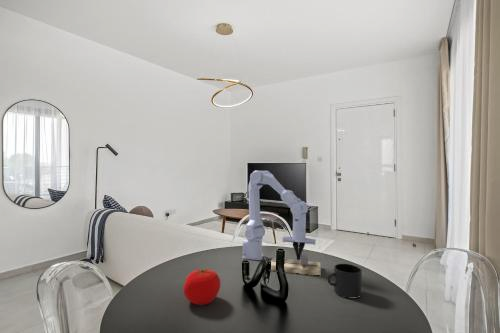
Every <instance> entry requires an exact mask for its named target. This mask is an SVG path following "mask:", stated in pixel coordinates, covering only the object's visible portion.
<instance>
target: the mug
mask: <svg viewBox="0 0 500 333" xmlns="http://www.w3.org/2000/svg"><path fill="white" fill-rule="evenodd" d="M362 272H363V270H362V268H360V267H358V266H357V265H354V264H349V263H338V264H337V263H336V264H335V265H334V268H333V273H330V274H329V275H328V277H327V282H328V285H329V286H332V287H333V291H334V293H335V292H336V293H337V294H339V295H341V296H345V297H358V296H360V295H361V296H362V284H363V283H362V277H363V273H362ZM331 277H333V282H332V281H331ZM336 293H335V294H336ZM337 294H336V295H337ZM339 295H338V296H339ZM341 296H340V297H341Z"/></svg>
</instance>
